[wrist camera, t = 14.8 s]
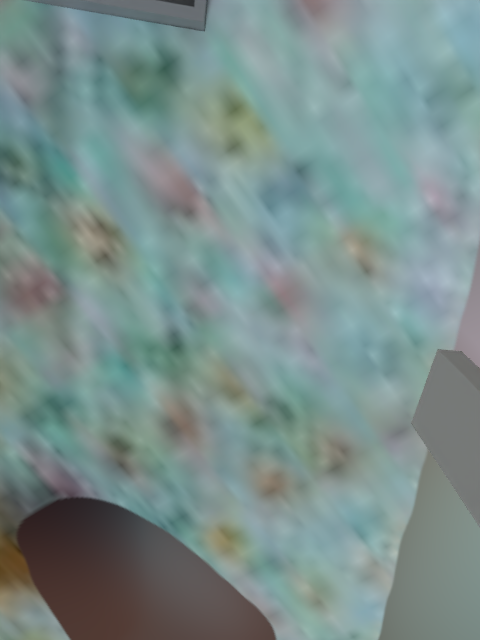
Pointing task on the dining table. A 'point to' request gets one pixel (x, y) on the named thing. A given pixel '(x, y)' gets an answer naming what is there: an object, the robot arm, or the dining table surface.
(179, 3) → the grey shallow rectangular tray
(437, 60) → the dining table surface
